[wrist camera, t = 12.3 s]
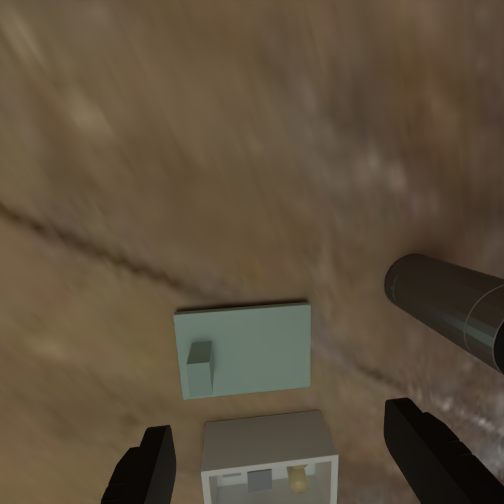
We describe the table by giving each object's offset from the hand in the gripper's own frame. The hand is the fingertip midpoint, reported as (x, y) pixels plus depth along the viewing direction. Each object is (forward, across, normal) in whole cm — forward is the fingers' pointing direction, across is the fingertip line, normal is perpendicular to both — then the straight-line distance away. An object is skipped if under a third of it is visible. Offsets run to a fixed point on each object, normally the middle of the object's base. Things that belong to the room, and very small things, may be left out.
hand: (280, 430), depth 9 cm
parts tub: (+29, -1, +36) cm, 46 cm away
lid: (+30, +1, +15) cm, 33 cm away
